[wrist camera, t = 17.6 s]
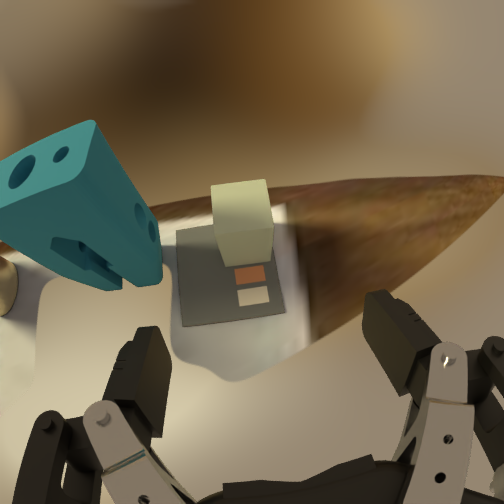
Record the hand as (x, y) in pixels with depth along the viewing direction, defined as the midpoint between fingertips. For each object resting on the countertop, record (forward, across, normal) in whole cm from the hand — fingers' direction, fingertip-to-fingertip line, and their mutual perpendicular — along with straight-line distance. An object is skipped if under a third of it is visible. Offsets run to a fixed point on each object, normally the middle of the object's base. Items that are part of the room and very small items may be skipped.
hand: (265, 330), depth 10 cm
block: (+21, +14, +6) cm, 26 cm away
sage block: (+22, 0, +5) cm, 22 cm away
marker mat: (+20, +2, +7) cm, 21 cm away
